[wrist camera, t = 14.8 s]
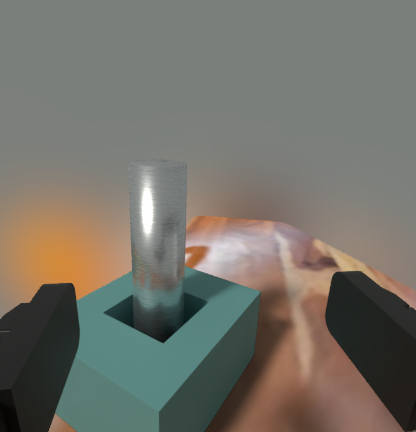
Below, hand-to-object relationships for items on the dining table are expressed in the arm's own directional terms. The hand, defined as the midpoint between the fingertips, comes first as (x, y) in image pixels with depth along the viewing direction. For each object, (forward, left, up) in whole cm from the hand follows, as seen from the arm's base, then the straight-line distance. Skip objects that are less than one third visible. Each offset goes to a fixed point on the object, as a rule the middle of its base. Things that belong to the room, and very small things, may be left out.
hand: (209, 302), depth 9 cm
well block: (-9, -10, -16) cm, 21 cm away
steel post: (-9, -10, -16) cm, 20 cm away
